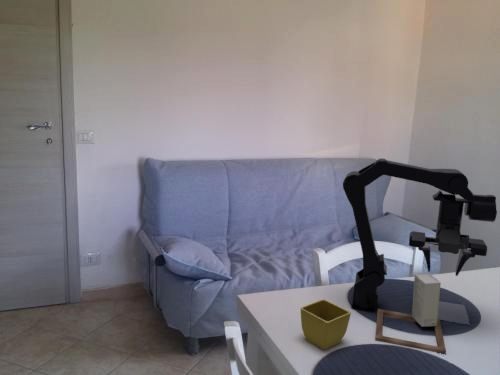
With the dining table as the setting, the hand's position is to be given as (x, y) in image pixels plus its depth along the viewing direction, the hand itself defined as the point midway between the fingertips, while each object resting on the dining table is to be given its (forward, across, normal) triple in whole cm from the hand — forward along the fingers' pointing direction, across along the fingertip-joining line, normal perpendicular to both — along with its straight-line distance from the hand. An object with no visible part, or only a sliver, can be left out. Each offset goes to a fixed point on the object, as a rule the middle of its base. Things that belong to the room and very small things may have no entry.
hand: (442, 273), depth 120 cm
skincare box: (+12, -4, -6) cm, 14 cm away
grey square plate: (+13, +2, +4) cm, 14 cm away
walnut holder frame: (+13, -7, -12) cm, 19 cm away
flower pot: (+13, -27, -25) cm, 39 cm away
